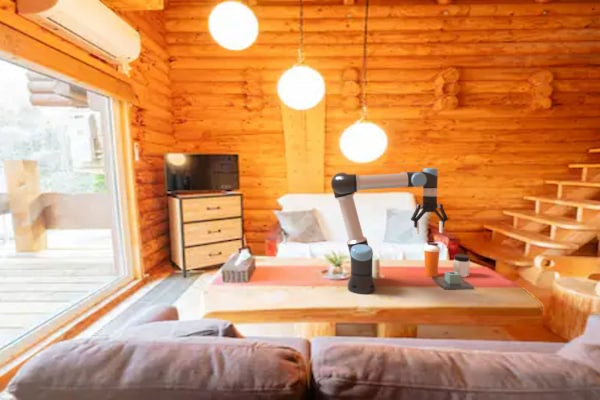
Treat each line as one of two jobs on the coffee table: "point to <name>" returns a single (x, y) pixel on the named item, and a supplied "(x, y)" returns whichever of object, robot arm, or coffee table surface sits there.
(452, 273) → the teal open box
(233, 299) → the coffee table surface
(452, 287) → the hub plate
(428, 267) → the shaker bottle
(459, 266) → the jar
